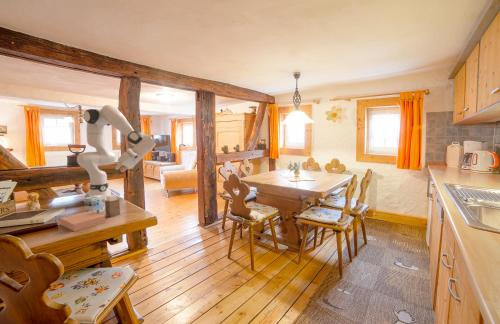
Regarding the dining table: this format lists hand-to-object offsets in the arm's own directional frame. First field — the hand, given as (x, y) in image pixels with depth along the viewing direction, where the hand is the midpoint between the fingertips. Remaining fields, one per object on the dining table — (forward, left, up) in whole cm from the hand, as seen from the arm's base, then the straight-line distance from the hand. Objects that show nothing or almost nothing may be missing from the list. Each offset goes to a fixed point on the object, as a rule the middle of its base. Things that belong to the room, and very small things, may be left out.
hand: (118, 170), depth 153 cm
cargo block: (-3, -4, -19) cm, 20 cm away
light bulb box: (-19, -7, -29) cm, 36 cm away
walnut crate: (-3, -4, -29) cm, 30 cm away
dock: (-3, -21, -29) cm, 36 cm away
